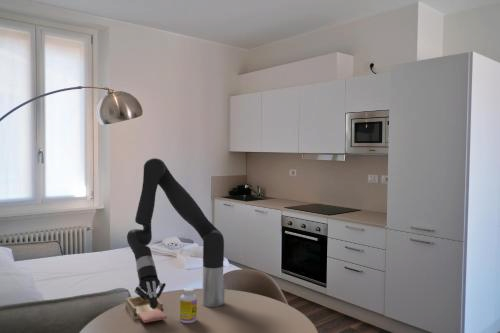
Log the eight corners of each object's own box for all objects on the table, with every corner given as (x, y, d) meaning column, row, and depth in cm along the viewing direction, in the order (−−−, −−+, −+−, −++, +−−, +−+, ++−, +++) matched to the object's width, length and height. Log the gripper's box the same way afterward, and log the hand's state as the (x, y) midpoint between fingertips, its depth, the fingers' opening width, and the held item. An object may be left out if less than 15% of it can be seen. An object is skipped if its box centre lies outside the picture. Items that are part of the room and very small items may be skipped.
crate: (152, 304, 179) (152, 294, 179) (163, 315, 166) (163, 304, 166) (125, 308, 172) (125, 298, 172) (134, 320, 160) (134, 309, 160)
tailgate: (159, 309, 165) (166, 316, 158) (159, 312, 165) (166, 319, 158) (137, 313, 161) (144, 320, 153) (137, 316, 161) (144, 323, 153)
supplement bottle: (193, 324, 157) (193, 292, 157) (177, 322, 158) (177, 290, 158) (198, 318, 163) (199, 287, 163) (183, 316, 165) (184, 285, 165)
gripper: (132, 266, 161) (139, 306, 151) (163, 262, 168) (173, 300, 158) (128, 276, 166) (135, 315, 155) (159, 272, 173) (168, 309, 162)
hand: (154, 307), depth 156 cm, fingers closed
